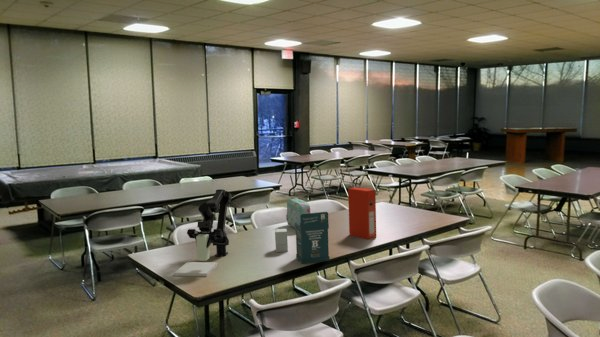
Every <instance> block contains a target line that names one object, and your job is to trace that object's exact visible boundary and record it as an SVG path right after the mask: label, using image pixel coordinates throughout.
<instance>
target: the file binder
mask: <svg viewBox="0 0 600 337" xmlns="http://www.w3.org/2000/svg"><path fill="white" fill-rule="evenodd" d="M347 190H348V191H347V193H348V195H347V197H348V198H347V199H348V230H349V232H348V233H349V236H354V237H356V238H361V239H365V240H372V239H375V238H377V209H376V208H377V207H376V206H377V204H376V200H377V198H376V189H373V188H372V189H371V188H364V187H360V186H359V187H358V186H355V187H349V188H348V189H347Z"/></svg>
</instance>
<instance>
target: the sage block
mask: <svg viewBox="0 0 600 337" xmlns="http://www.w3.org/2000/svg"><path fill="white" fill-rule="evenodd" d="M208 238H209V234H199V235H198V236H196V239H195V244H196V243H197V247H196V259H197V261H198V262H201V261H202V262H203V261H204V262H207V261H208V259H210V246H209V247H208V248H207V247H206V246H207V242H208Z"/></svg>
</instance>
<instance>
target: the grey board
mask: <svg viewBox="0 0 600 337" xmlns="http://www.w3.org/2000/svg"><path fill="white" fill-rule="evenodd" d="M218 266H219V262H215V261H214V262H211V261H210V262H209V261H208V262H207V261H204V262H203V261H202V262H201V261H196V262H195V261H194V262H193V261H187V262H185V263H184V264H183V265H182V266H180V268H178V269H177V270H176V271H174V272H173V276H175V277H208V276H209V275H210V274H211V273H212V272H213V271H214V270H215V269H216V268H217V267H218Z"/></svg>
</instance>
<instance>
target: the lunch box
mask: <svg viewBox="0 0 600 337" xmlns="http://www.w3.org/2000/svg"><path fill="white" fill-rule="evenodd" d="M308 213H311V206H310V204H309V203H308V202H307V201H305V200H302V199H300V198H298V197H294V198H290V199H288V200H287V202H286V217H285V218H286V223H287V225H288V226H289V227H291V228H293V229H295V230H296V227H295V222H297V221H300V220H301V214H308Z"/></svg>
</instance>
